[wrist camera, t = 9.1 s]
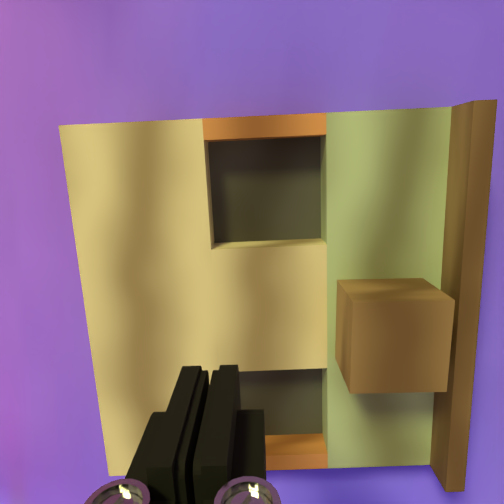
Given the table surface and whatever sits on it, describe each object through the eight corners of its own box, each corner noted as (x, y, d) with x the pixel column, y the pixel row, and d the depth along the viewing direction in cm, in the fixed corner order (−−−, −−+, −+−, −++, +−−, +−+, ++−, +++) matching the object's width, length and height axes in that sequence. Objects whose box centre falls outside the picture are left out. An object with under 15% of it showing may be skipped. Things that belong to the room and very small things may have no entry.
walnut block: (422, 278, 21) (455, 300, 18) (416, 356, 22) (446, 391, 19) (336, 279, 21) (352, 302, 18) (334, 357, 22) (349, 393, 19)
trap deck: (452, 110, 21) (497, 99, 17) (432, 441, 26) (464, 491, 22) (76, 128, 21) (37, 121, 18) (120, 452, 26) (96, 503, 22)
